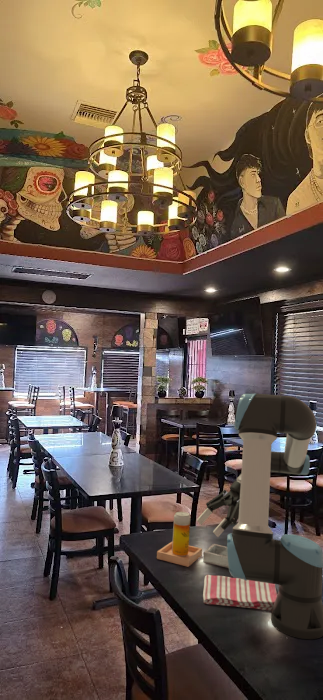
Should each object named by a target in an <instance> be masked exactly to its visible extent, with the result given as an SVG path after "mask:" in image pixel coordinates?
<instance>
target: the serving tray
mask: <svg viewBox="0 0 323 700" xmlns="http://www.w3.org/2000/svg"><path fill="white" fill-rule="evenodd" d="M172 542H173V540H172V541H171V542H169V543H168V544H166V545H164V546H163V547H162V548H160V549H158V550H157V551H156V559H157V560H161V561H164V562H168V563H173V564H176V565H180V566H184V567H188V568H189V567H190V566H191V565H193V564H194V563H195V562H196V561H197V560H198V559H200V557H202V556H203V548H202V547H197V546H193V545H189V550H188V554H187V556H186V557H180V556H176V555H173V553H172Z"/></svg>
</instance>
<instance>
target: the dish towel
mask: <svg viewBox="0 0 323 700" xmlns="http://www.w3.org/2000/svg"><path fill="white" fill-rule="evenodd" d="M202 591H203V592H202V593H203V594H202V599H203V604H206V605H215V606H216V605H217V606H225V607H235V608H236V607H238V608H247V609H255V610H261V611H272V608H273V605H274V603H275V600H276V597H277V595H278V592H277V588H276V584H271V583H265V582H258V581H251V580H247V581H245V580H244V579H239V578H235V577H231V576H226V575H225V576H224V575H214V574H213V575H212V574H206V575H205V576H204V581H203V590H202Z"/></svg>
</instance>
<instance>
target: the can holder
mask: <svg viewBox="0 0 323 700" xmlns="http://www.w3.org/2000/svg"><path fill="white" fill-rule="evenodd" d="M202 556H203V558H202V562H203V563H206V564H210V565H214V566H218V567H223V568H226V569H229V566H228V554H227V545H226V546H225V545H220V544H217V543H212V544H211V545H210V546H209V547H208V548H206V550H204V551H203V555H202Z"/></svg>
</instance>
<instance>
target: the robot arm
mask: <svg viewBox="0 0 323 700" xmlns="http://www.w3.org/2000/svg"><path fill="white" fill-rule="evenodd" d="M234 429H235V430H236V431H238V437H239V438H241V440H242V441H243V442H242V443H243V444H242V456H241V458H242V459H241V460H242V461H241V471H240V472H241V473H240V474H239V476H238V477H237V478H236V480H234V482H232V483H231V484H230V486H229V491H227V490H226V489H223V490H222V491H221V493H219V494H217V495H216V496H215V497H213V498H212V499H210V500H209V501H207V502H206V503H205V505H206V508H205V509H204V511H202V513H201V514H200V516H198V517H197V518H196V521H197V523H199V525H200V526H202V525H203V524H205V522H206V520H208V519H209V517H210V516H211V515H212V514H213V512H214V511H215V510H217V509H220V508H221V507H224V506H228V509H227V515H226V516H225V517H224V518H223V519H222V520H221V522H220V523H219V524H218V525H217V526H216V527H215V528H214V529H213V531H212V533H213V534H214V535H215V536H216V537H217V538H219V537H220V536H221V534H223V533H224V531H225V530H226V529H228V527H229V526H230V525H232V524H233V525H234V526H233V527H232V532H231V533H228V534H227V536H226V537H227V538H226V541H227V543H226V547H227V554H228V566H229V568H228V572H229V574H230V575H231V577H232V578H239V579H244V580H245V581H247V580H251V581H258V582H265V583H271V584H275V585H278V592H277V597H276V600H275V603H274V605H273V608H272V610H270V621H271V624H272V625H273V627H275V629H277V630H278V631H279V632H281V633H283V634H285V635H287V636H290V637H292V638H295V639H296V638H297V639H303V640H315V639H319V638H323V601H322V600H323V599H322V598H323V597H322V595H323V548H322V547H321V546H320V545H319V544H318V543H317V542H315V541H313V540H311V539H310V538H307V537H304V536H302V535H298V534H294V533H293V534H292V533H289V534H288V533H287V534H283V535H282V536H281V537H280V539H274V532H273V531H272V529H271V528H270V527H269V514H270V513H269V511H270V490H271V489H270V488H271V487H270V485H271V473H281V474H292V475H298V476H301V475H303V476H307V475H308V474H309V473H310V469H311V468H310V466H311V465H310V464H311V461H310V455H308V454H307V453H308V449H309V445H310V440H311V439H312V438H313V436H314V435H315V433H316V430H317V418H316V416H315V414H314V412H313V410H312V409H311V408H310V406H308V404H307V403H305V402H304V401H302V400H301V399H299V398H297V397H295V396H290V395H280V394H279V395H277V394H265V393H244V394H241V396H240V398H239V399H238V404H237V408H236V414H235V421H234ZM278 434H286V439H285V446H284V447H285V448H284V452H282V451H272V444H273V443H274V442H275V441H276V440H277V439H278Z"/></svg>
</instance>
